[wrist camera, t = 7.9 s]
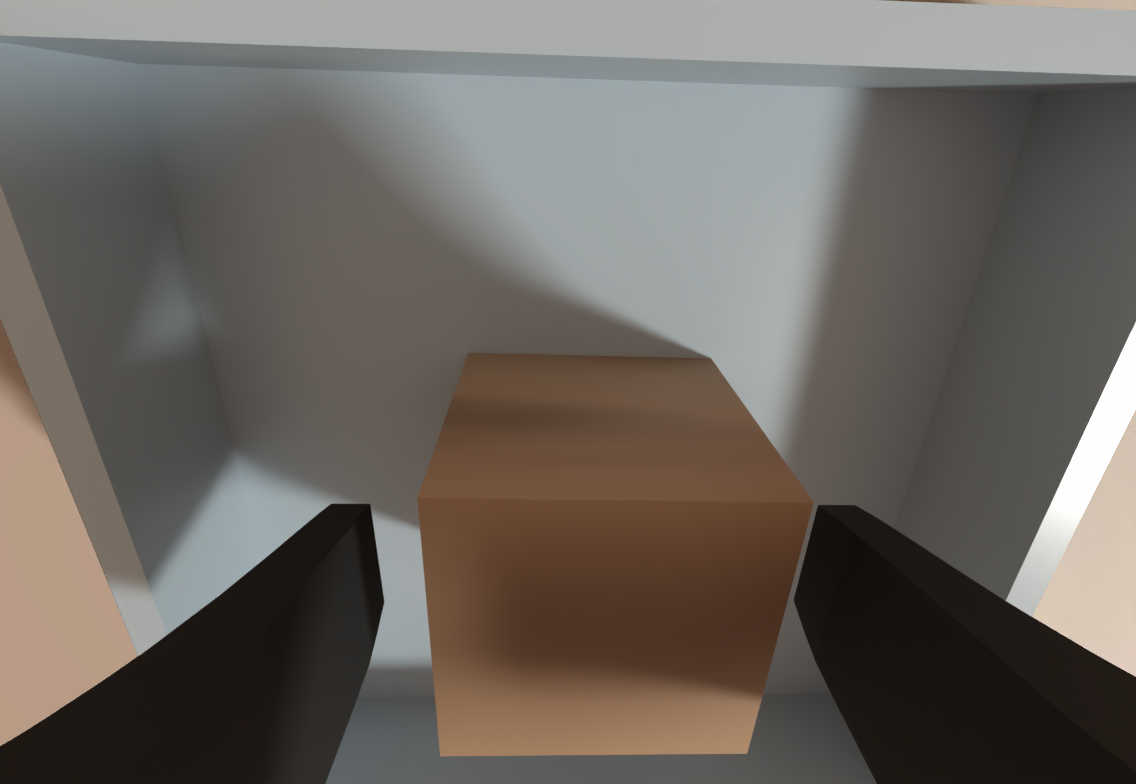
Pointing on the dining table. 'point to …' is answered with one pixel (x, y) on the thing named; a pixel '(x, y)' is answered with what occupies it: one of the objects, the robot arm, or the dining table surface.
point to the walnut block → (603, 558)
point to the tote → (565, 282)
